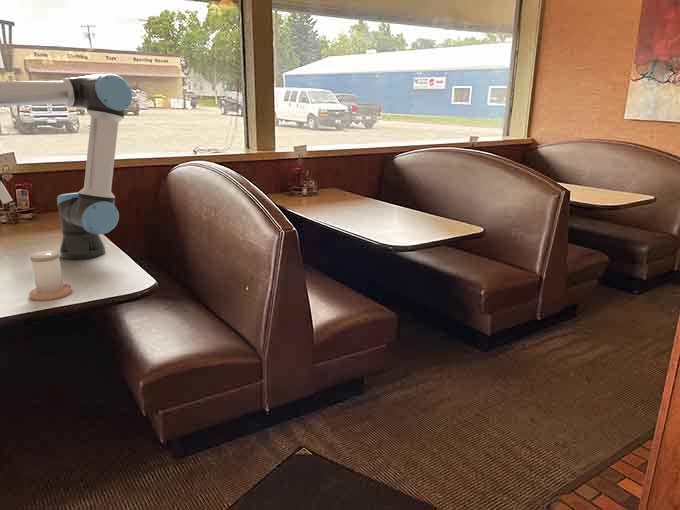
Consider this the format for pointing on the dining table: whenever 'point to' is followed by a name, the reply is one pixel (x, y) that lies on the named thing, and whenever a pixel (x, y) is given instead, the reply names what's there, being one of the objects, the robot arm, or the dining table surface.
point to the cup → (47, 272)
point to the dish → (51, 296)
